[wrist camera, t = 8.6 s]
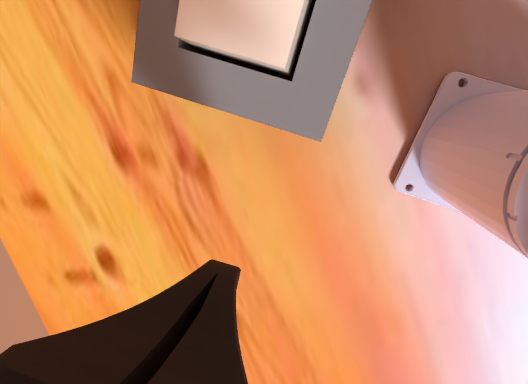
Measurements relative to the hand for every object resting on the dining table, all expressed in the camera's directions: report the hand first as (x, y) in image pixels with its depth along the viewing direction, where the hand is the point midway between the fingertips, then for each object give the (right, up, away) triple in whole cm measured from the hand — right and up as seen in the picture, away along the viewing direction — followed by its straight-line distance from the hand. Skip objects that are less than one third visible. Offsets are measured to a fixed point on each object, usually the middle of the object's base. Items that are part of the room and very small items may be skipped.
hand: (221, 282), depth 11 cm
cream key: (+1, +15, +4) cm, 15 cm away
